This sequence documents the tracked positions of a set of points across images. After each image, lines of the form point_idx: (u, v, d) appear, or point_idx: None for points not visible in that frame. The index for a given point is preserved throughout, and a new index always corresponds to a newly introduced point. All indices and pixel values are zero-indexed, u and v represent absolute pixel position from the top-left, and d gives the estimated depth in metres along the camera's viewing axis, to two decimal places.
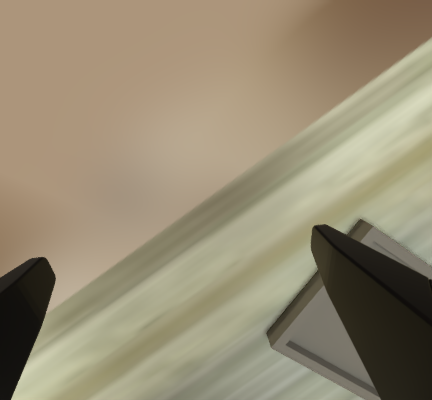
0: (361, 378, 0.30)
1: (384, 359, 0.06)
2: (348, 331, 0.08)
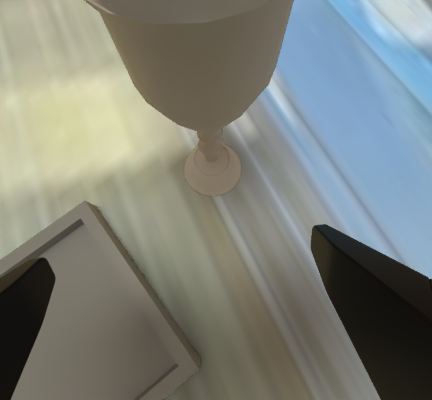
0: (141, 389, 0.19)
1: (384, 359, 0.06)
2: (348, 331, 0.08)
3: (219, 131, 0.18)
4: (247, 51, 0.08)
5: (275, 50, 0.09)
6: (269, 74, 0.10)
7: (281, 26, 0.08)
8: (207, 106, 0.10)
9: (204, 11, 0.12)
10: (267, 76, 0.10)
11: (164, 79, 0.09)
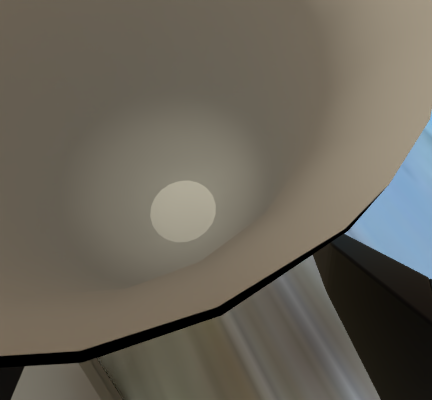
0: None
1: (384, 359, 0.06)
2: (348, 331, 0.08)
3: None
4: None
5: None
6: None
7: None
8: None
9: (165, 93, 0.08)
10: None
11: None
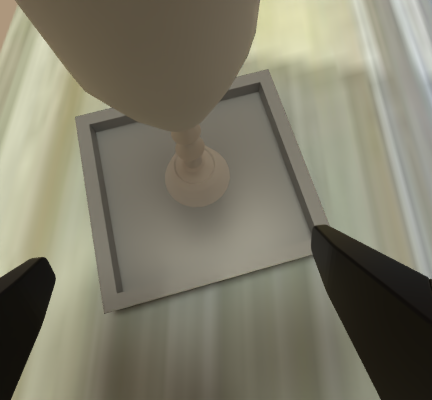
0: (268, 248, 0.20)
1: (384, 359, 0.06)
2: (348, 331, 0.08)
3: (197, 130, 0.15)
4: None
5: None
6: (247, 39, 0.08)
7: None
8: (164, 87, 0.07)
9: None
10: (244, 42, 0.08)
11: (90, 46, 0.06)
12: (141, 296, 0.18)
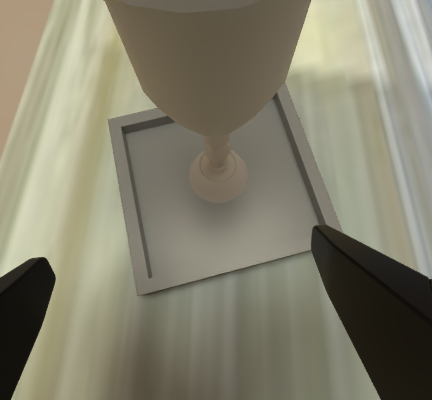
0: (283, 240, 0.22)
1: (384, 359, 0.06)
2: (348, 331, 0.08)
3: (227, 135, 0.17)
4: (272, 43, 0.07)
5: (296, 42, 0.09)
6: (287, 69, 0.10)
7: (305, 15, 0.08)
8: (225, 107, 0.09)
9: (209, 10, 0.12)
10: (285, 71, 0.10)
11: (181, 79, 0.08)
12: (170, 281, 0.20)
